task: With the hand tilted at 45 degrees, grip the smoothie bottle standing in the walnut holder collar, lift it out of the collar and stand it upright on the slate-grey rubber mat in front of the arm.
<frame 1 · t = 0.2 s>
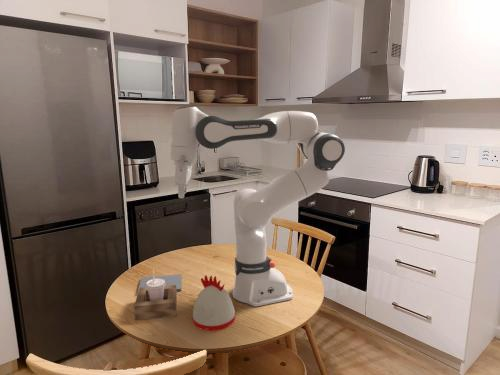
hand: (182, 195, 125), 39 cm above the table, tool pointing down, fingers open, 8 cm apart
rubber mat: (160, 285, 144), on the table
holder collar: (157, 308, 127), on the table
kitchen timer: (214, 319, 121), on the table
smoothie: (157, 308, 127), resting in holder collar
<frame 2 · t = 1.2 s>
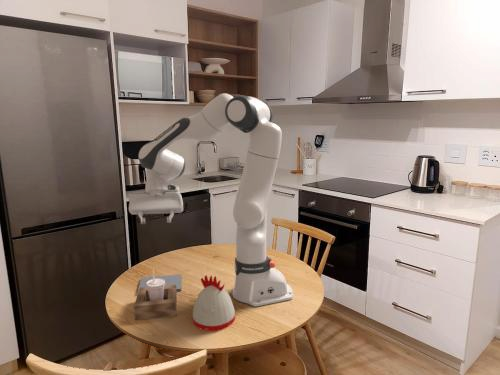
hand: (156, 222, 137), 26 cm above the table, tool tilted 45°, fingers open, 8 cm apart
nothing on the table moved.
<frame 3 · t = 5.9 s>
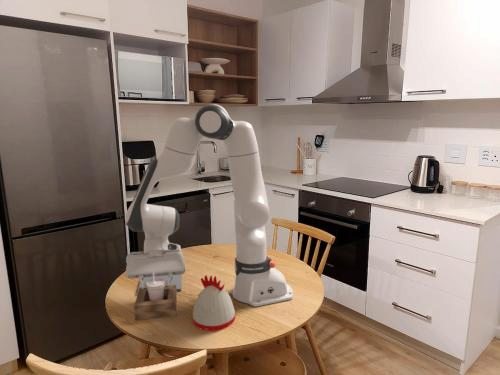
hand: (155, 288, 125), 8 cm above the table, tool tilted 45°, fingers closed on smoothie, 6 cm apart
smoothie: (157, 308, 127), resting in holder collar, touching gripper
everything else where it was.
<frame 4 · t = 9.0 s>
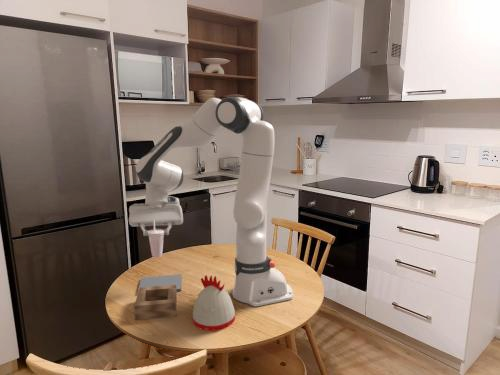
hand: (156, 234, 137), 22 cm above the table, tool tilted 45°, fingers closed on smoothie, 6 cm apart
smoothie: (157, 255, 139), point 13 cm above the table, touching gripper
everything else where it was.
when the fingers open (10 cm above the table, at t = 12.4 s): smoothie stays where it is, resting on rubber mat.
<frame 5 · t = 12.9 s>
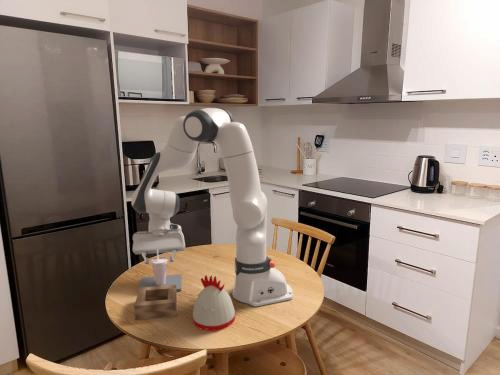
hand: (159, 262, 142), 10 cm above the table, tool tilted 45°, fingers open, 8 cm apart
smoothie: (160, 283, 144), point 1 cm above the table, touching rubber mat
everything else where it was.
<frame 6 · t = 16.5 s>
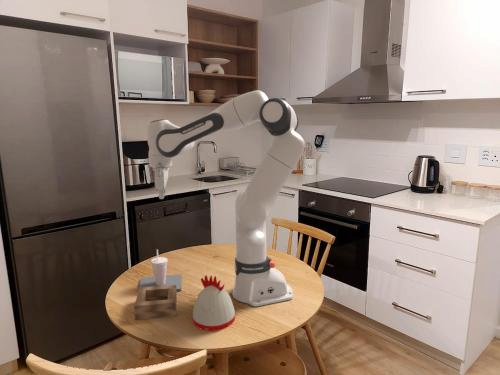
hand: (162, 196, 146), 34 cm above the table, tool pointing down, fingers open, 8 cm apart
nothing on the table moved.
at the end: smoothie inside the target area on the rubber mat (0.2 cm from its centre), point 0.8 cm above the rubber mat's base; smoothie tilted 0°; the gripper is holding nothing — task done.
